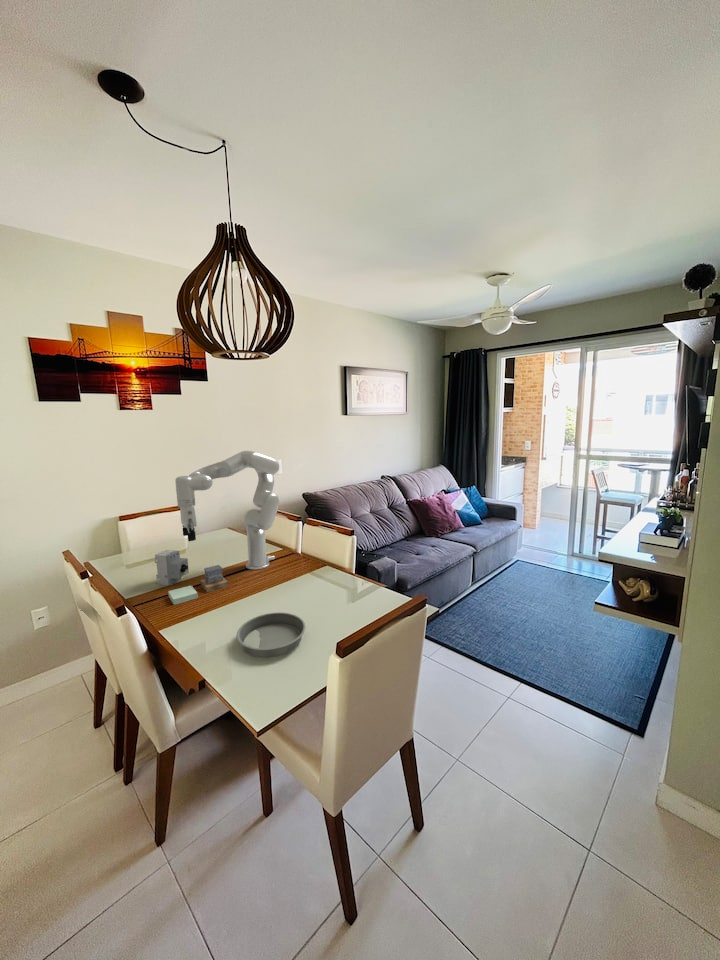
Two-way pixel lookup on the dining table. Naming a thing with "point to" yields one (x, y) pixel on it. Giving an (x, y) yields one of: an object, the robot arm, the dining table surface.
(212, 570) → the block
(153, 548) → the dining table surface
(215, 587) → the stand walnut
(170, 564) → the circuit breaker
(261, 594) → the dining table surface
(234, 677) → the dining table surface
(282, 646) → the cake pan
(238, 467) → the robot arm
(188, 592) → the stand green
